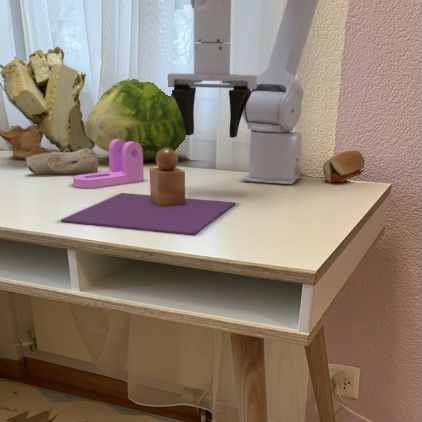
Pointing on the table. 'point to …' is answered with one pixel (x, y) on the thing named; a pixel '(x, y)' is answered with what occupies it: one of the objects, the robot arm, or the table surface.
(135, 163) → the bracket
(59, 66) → the debris
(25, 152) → the bone
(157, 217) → the felt cloth
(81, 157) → the bone fragment
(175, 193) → the wooden knob on block
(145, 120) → the lettuce
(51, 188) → the table surface
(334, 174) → the food
